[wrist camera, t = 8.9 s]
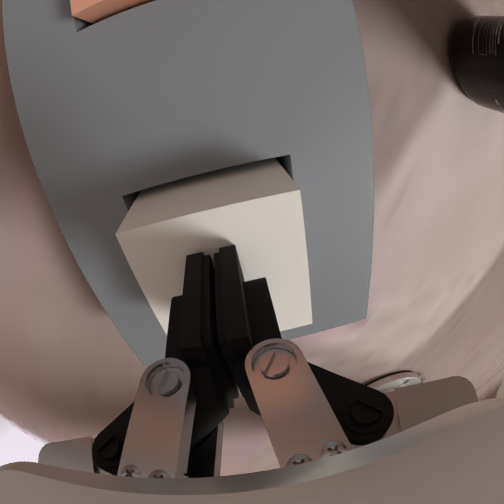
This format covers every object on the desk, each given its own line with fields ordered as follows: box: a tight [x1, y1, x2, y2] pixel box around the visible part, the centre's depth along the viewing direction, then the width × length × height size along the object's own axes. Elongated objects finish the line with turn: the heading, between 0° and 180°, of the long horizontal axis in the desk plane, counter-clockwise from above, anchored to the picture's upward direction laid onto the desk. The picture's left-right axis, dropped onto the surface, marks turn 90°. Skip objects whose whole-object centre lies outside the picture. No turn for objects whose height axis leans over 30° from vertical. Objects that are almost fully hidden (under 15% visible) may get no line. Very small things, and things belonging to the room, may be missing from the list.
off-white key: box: [115, 157, 313, 335], centre depth 12 cm, size 6×6×5 cm
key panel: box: [2, 0, 374, 365], centre depth 10 cm, size 14×28×4 cm, turn 11°
